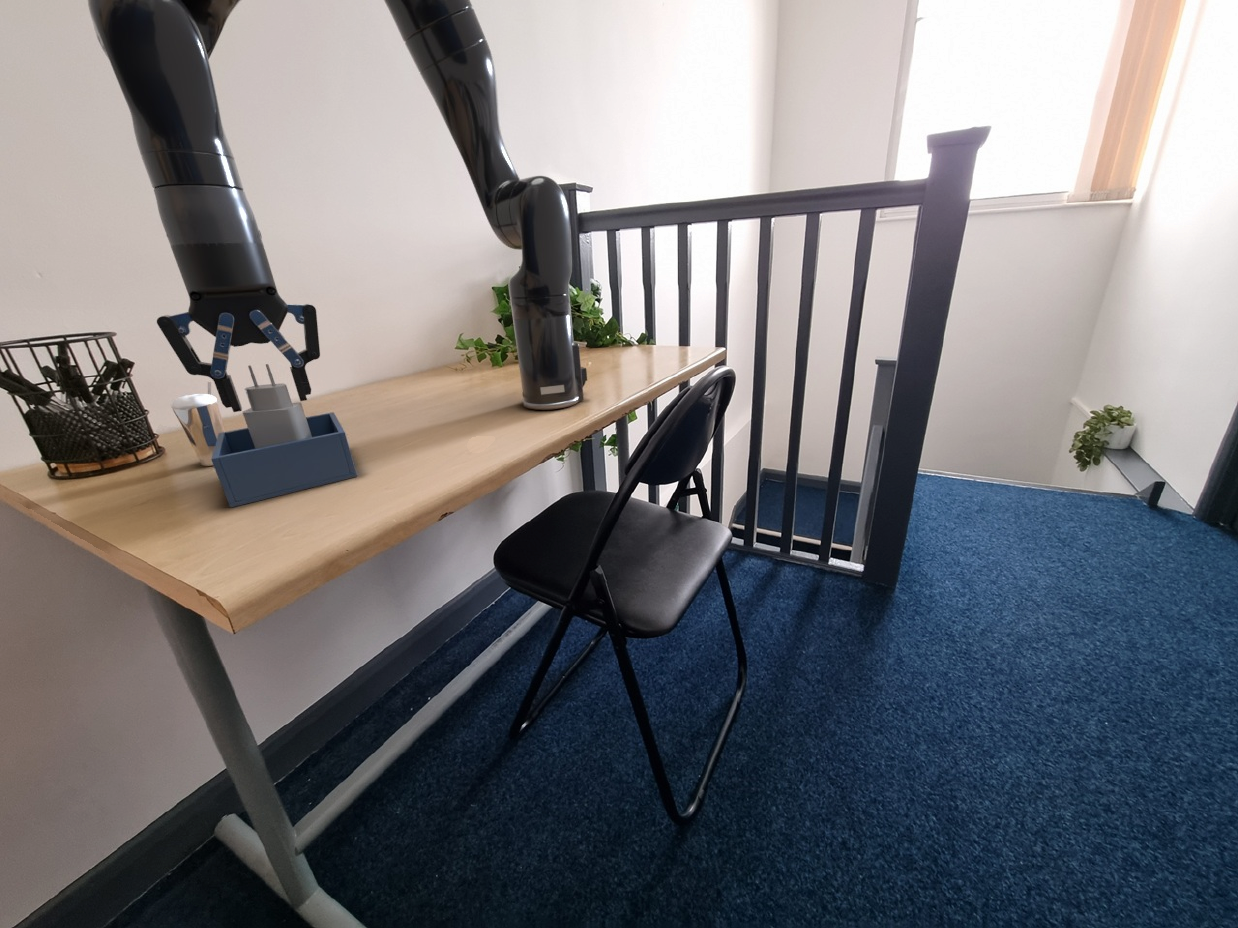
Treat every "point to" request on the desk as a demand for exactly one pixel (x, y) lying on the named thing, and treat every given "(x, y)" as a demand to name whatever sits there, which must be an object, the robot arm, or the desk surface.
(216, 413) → the milkshake
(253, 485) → the basket
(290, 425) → the power adapter
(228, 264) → the robot arm
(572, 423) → the desk surface
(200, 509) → the desk surface
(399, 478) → the desk surface
